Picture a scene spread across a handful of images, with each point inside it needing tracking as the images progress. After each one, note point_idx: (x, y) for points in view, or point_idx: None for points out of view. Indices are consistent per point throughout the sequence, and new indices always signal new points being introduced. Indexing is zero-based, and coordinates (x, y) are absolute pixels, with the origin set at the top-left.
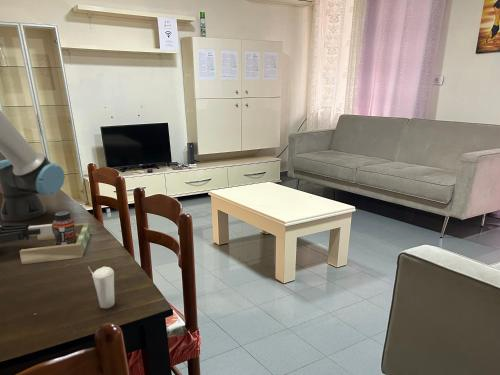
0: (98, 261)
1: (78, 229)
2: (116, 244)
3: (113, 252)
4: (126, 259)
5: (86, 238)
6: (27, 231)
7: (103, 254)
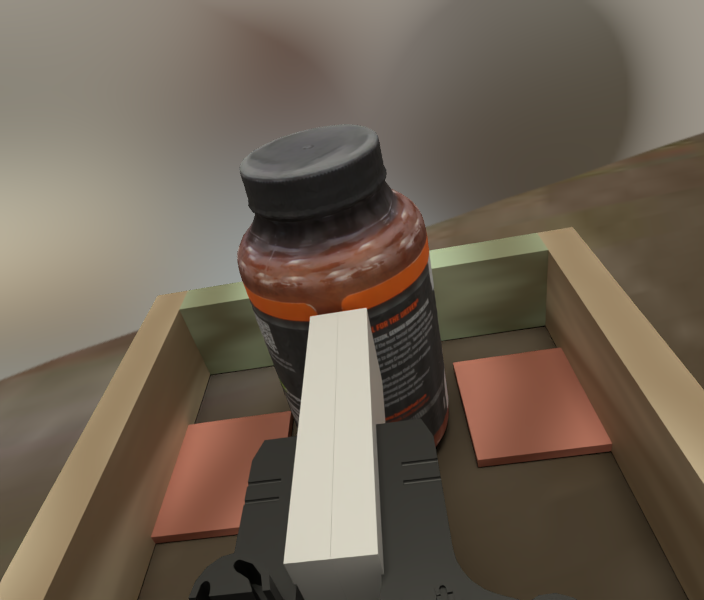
0: (616, 238)
1: (180, 362)
2: None
3: (505, 223)
4: (582, 180)
5: None
6: (456, 566)
7: None
